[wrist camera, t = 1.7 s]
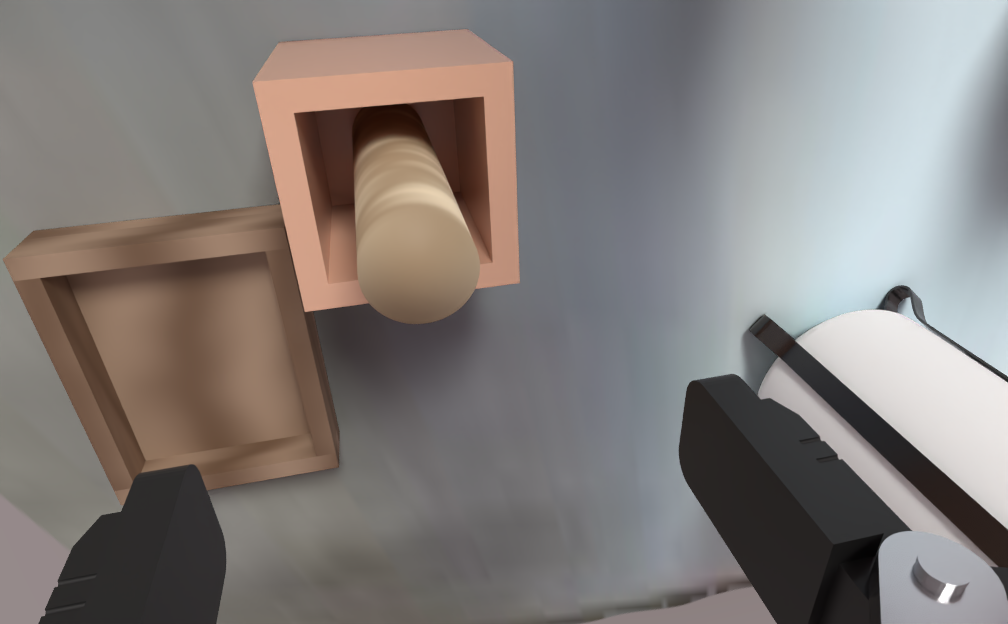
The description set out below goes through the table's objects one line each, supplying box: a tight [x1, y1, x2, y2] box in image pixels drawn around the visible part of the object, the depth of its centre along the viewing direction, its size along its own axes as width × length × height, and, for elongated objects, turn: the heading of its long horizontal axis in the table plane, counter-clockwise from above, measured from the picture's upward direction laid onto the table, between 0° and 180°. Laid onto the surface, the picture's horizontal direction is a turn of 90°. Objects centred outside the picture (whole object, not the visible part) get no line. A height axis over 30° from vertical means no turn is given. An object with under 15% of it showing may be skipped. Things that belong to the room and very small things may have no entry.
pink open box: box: [253, 29, 520, 312], centre depth 26 cm, size 8×8×9 cm
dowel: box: [352, 103, 480, 324], centre depth 23 cm, size 3×3×14 cm
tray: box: [3, 204, 339, 505], centre depth 32 cm, size 11×14×3 cm
